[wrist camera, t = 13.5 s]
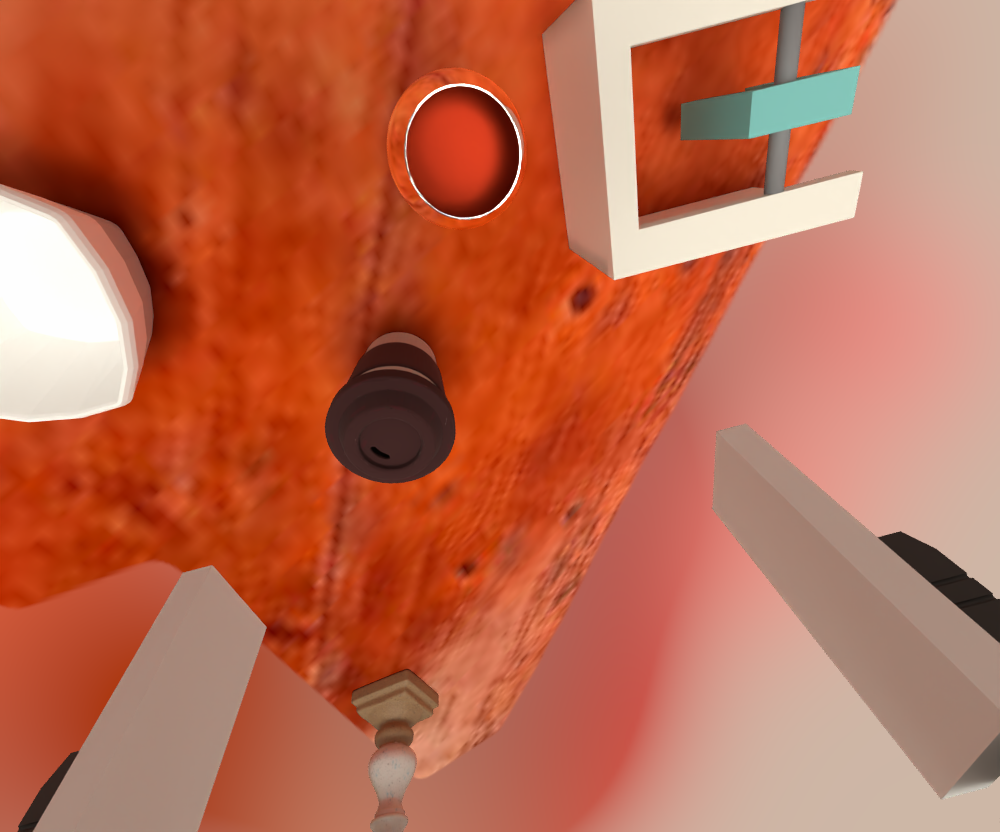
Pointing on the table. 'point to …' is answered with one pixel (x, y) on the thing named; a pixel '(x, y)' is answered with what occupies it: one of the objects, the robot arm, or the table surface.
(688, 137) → the teal u-shaped bracket
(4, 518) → the table surface
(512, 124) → the wineglass
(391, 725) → the candle holder
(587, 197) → the white c-frame
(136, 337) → the bowl
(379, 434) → the coffee cup
